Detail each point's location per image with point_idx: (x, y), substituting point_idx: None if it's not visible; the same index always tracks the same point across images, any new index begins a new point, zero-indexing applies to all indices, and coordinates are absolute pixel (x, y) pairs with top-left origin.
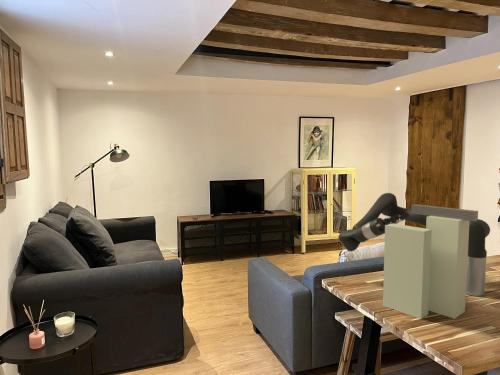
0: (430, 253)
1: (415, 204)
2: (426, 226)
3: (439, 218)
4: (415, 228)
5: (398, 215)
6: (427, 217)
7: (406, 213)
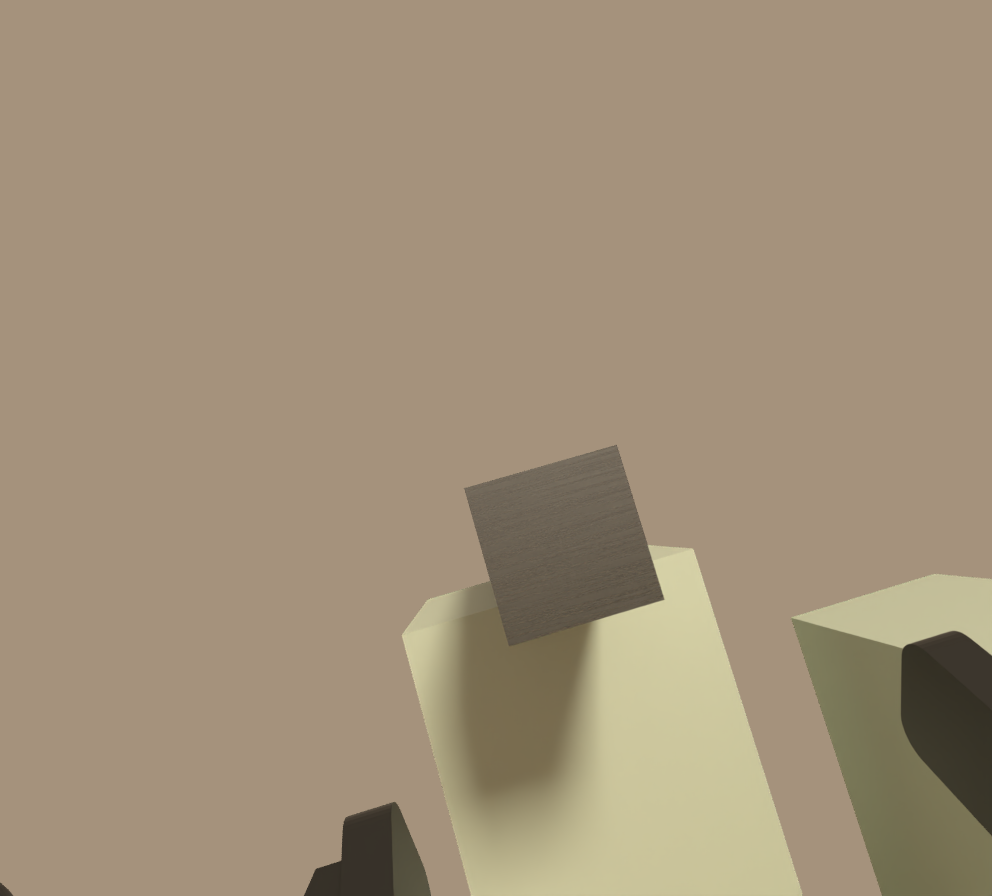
0: (877, 863)
1: (486, 482)
2: (728, 666)
3: (655, 546)
4: (940, 612)
5: (905, 663)
6: (692, 556)
7: (399, 848)
